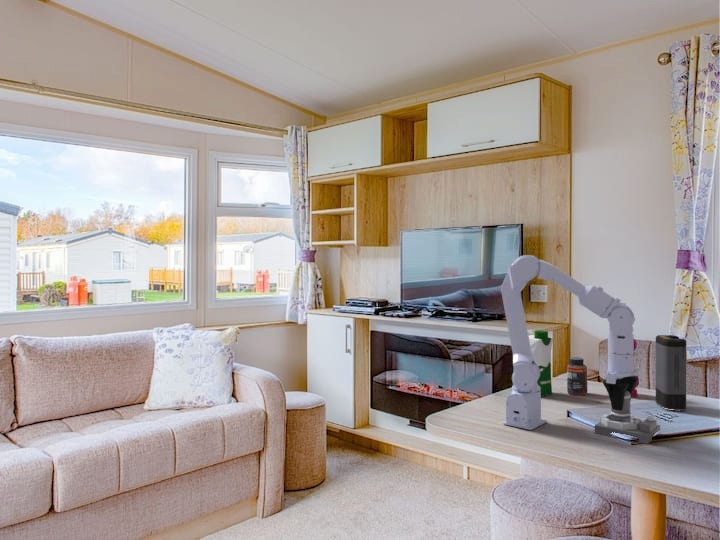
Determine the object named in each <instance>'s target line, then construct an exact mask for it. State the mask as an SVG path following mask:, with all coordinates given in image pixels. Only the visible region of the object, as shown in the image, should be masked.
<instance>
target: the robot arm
mask: <svg viewBox="0 0 720 540" xmlns="http://www.w3.org/2000/svg"><path fill="white" fill-rule="evenodd" d="M537 276H538V277H537ZM536 277H537V280H548V281H551V282H554V284H556V285H559V287H562V288H563V289H565V290H567V291H568V292H570V293H572V294H573V295H574V296H576V297H578V302H579V304H580V305H581V306H583V307H584V308H585V309H587V310H588V311H590V312H591V313H593V314H595V315H596V316H598V317H599V318H601V319H607V321H608V325H609V326H608V327H609V328H608V333H607V369H606V370H607V371H606V375H605V379H603V381H602V383H603V384H602V385H603V386H604V387H605V389H606V392H607V394H608V397H609V401H610V406H611V405H612V409H614V410H620V411H621V410H622V409H623V405H624V397H625V393H626V391H629V392H630V395H631V396H632V392H633V389H634V387H635V385H636V383H637V381H638V378H639V376H640V372H639V371H636V368H635V365H634V358H635V357H634V352H635V350H634V339H635V338H634V336H635V335H634V333H633V332H634V327H633V325H634V323H635V320H636V317H635V315H634V312H633V311H632V309H631V308H630V306H628V305H627V304H626V303H624V302H621V299H620V298H618V297H617V298H614V297H613V296H611V295H610V294H608V293H607V292H605V291H604V288H603V287H601V286H600V285H598V286H596V285H584V284H582V283H581V282H580V281H578V280H576V279H575V278H573V277H572V276H570V275H569V274H568V273H566V272H564V271H563V270H561V269H560V268H558V266H555V265H554V264H551V263H549V262H547V261H545V260H543V259H539V258H538V257H537V256H535V255H532V254H525V255H524V254H523V255H521V256H518V257H517V258H516V259H515V260H514V261H513V262H512V263H511V264H510V265H509V267H508V270H507V273H506V275H505V277H504V279H503V282H502V284H501V286H500V292H501V298H502V302H503V303H502V304H503V308H504V314H505V318H506V324H507V330H508V334H509V336H508V337H509V340H510V345H511V351H512V366H513V373H512V375H511V381H512V386H511V393H510V394H509V395H508V396H507V399H506V402H505V411H506V412H505V415H506V417H505V421H502V424H503V425H506V426H511V427H515V428H516V427H517V428H521V429H524V430H528V431H529V430H530V431H532V430H534V429H536V428H538V427H540V426H541V425H543V424H546V423H547V422H548V420H547V419H545V418H542V397H541V387H540V386H539V385H538V384H537V380H538V379H539V377H540V369H539V367H538V366H537V364H536V363H535V361H534V356H533V354H532V351H531V346H530V341H529V336H530V335H529V330H528V324H527V321H526V315H525V311H524V305H523V299H522V293H521V292H522V291H523V289H524V288H525V287H526V286H527V285H528V283H529V282H530V281H531V280H534V279H535V278H536ZM635 371H636V372H635ZM634 376H638V377H634ZM631 399H632V397H630V402H631Z"/></svg>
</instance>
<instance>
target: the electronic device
mask: <svg viewBox="0 0 720 540" xmlns="http://www.w3.org/2000/svg"><path fill="white" fill-rule="evenodd" d="M655 403H656V404H657V403H658V404H659V405H660V406H662V407H664V408H668V409H674V410H680V411H679V412H686V411H687V340H686V339H685V338H680V337H679V336H678V335H668V334H666V335H665V334H663V335H662V334H659V335H656V336H655ZM658 404H657V405H658ZM659 405H658V406H659ZM660 406H659V407H660ZM662 407H661V408H662Z"/></svg>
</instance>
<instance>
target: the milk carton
mask: <svg viewBox="0 0 720 540" xmlns="http://www.w3.org/2000/svg"><path fill="white" fill-rule="evenodd" d="M528 336H529V341H530V346H531V351H532V354H533V356H534V361H535V363H536V364H537V366H538V367H539V369H540V377H539V379H538V380H537V384H538V385H539V386H540V387H541V398H542V397H544V396H548V395H552V394H553V389H552V388H553V387H552V347H553V341H554V337H551V336H549V331H548V330H535V331H534V335H533V334H532V335H528Z"/></svg>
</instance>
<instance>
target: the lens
mask: <svg viewBox="0 0 720 540" xmlns="http://www.w3.org/2000/svg"><path fill="white" fill-rule="evenodd" d="M630 397H631V395H630V392H629V391H626V393H625V397H624V405H623V409H622V410H621V411H620V410H614V409H612V405H611V404H610V413H609V414H611V416H612V417H615V418H620V419H627V418H630V417H631V416H632V411H631V401H630ZM631 398H632V397H631ZM630 415H631V416H630Z"/></svg>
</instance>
